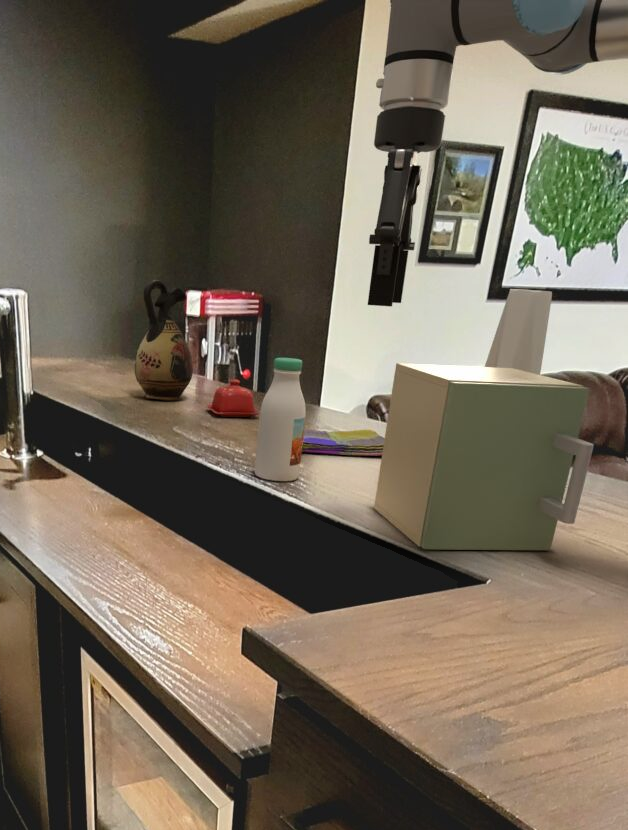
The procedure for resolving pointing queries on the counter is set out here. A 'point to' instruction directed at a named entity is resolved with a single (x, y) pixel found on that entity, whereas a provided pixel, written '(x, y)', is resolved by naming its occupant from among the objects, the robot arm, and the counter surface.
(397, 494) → the cupboard
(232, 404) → the butter dish
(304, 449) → the dish towel
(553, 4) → the robot arm
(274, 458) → the milk bottle
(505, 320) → the tall faceted taper
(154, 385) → the ceramic jug
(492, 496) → the cupboard door
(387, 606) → the counter surface
